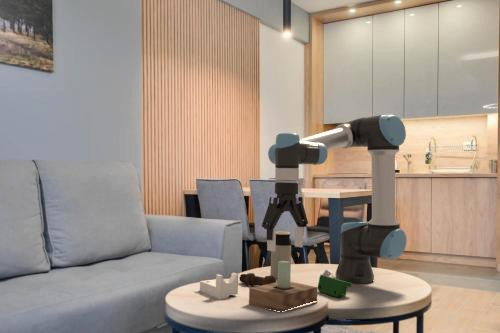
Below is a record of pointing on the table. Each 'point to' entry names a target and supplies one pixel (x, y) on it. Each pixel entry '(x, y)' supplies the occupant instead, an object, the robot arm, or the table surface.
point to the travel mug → (280, 251)
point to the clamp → (333, 286)
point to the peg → (284, 275)
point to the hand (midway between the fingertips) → (285, 248)
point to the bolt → (256, 279)
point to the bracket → (220, 286)
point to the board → (282, 296)
